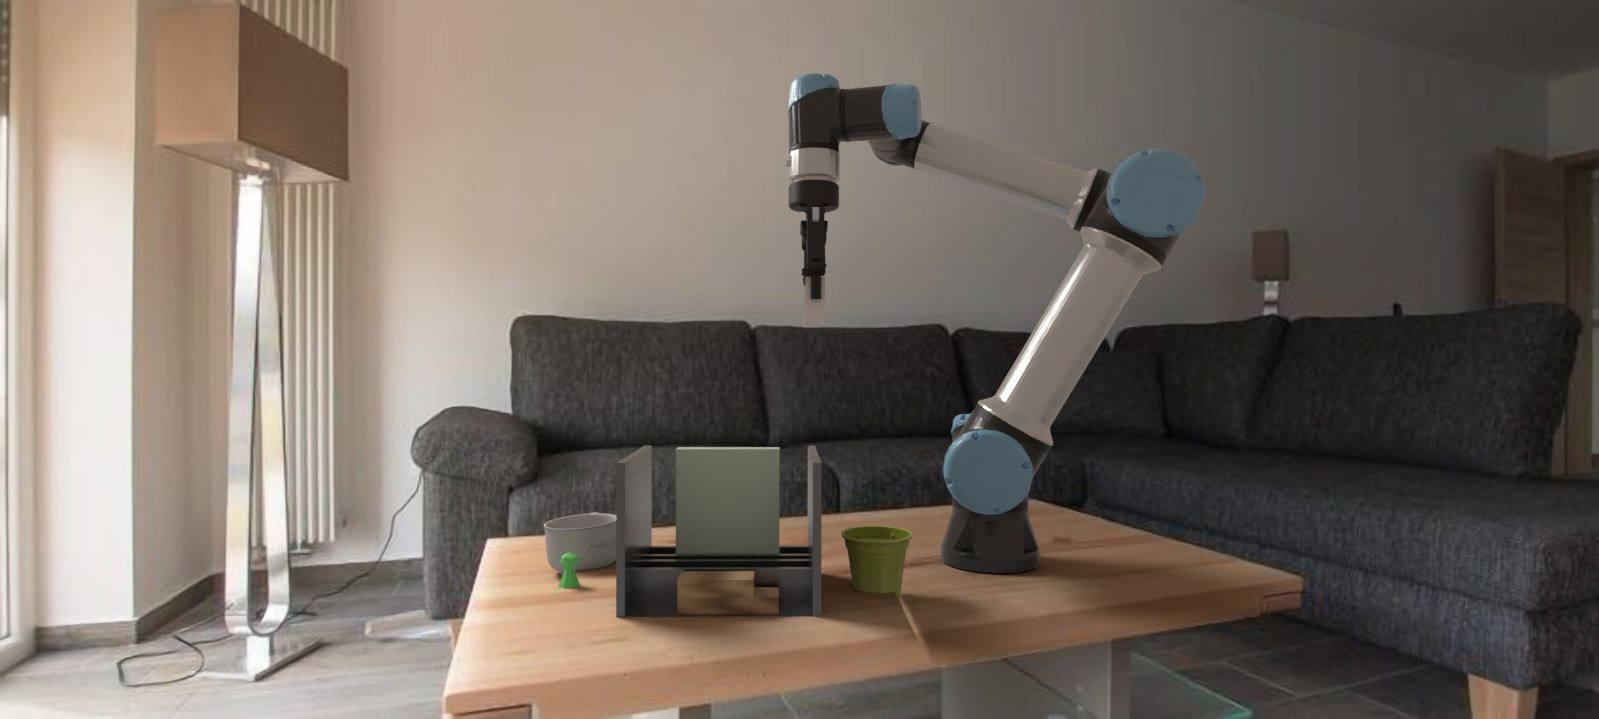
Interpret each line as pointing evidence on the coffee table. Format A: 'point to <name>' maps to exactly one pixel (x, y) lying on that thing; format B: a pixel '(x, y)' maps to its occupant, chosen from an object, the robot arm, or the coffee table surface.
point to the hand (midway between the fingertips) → (813, 325)
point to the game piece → (569, 572)
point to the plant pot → (877, 557)
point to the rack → (656, 569)
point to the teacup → (582, 540)
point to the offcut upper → (716, 584)
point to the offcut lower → (732, 603)
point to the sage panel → (727, 500)
